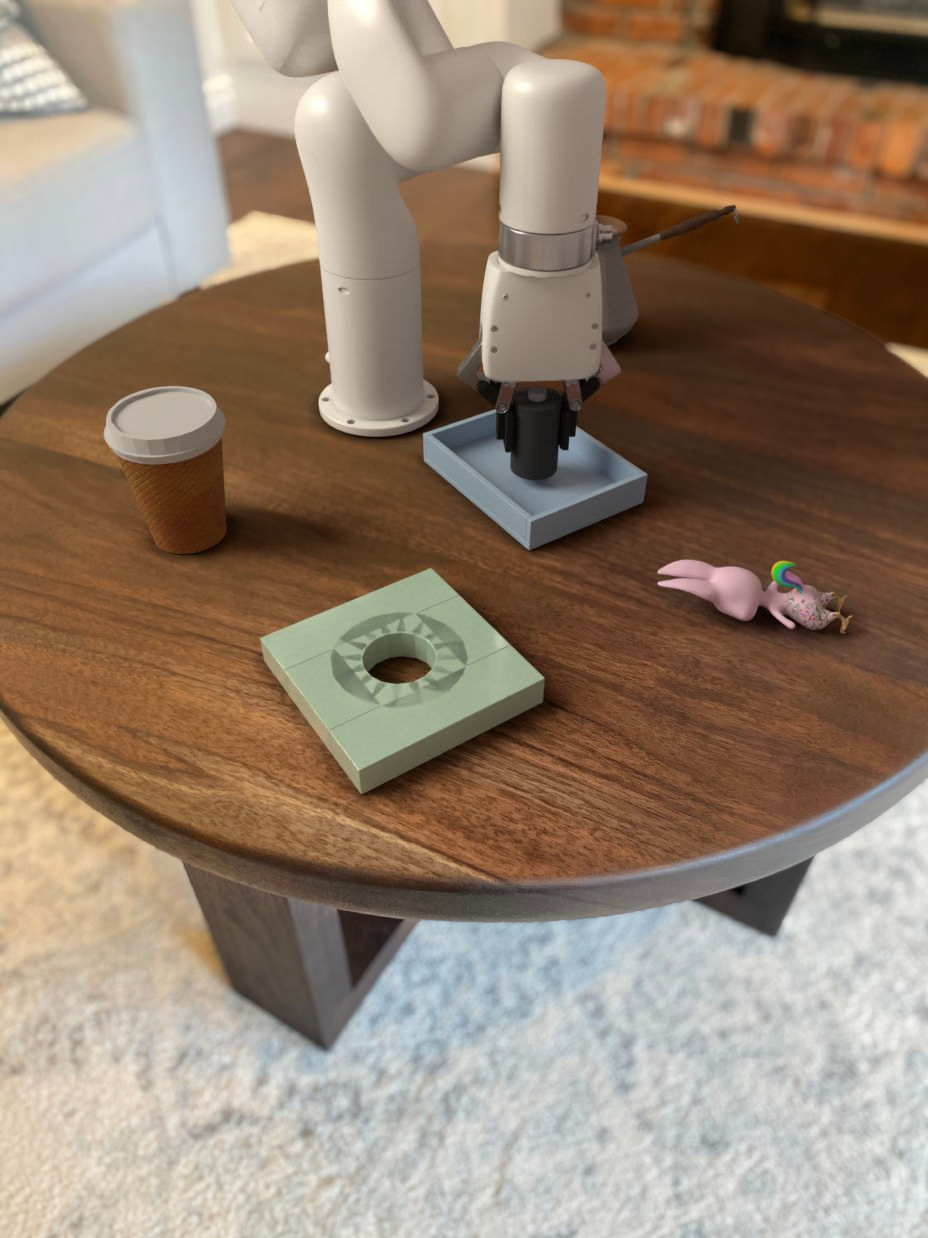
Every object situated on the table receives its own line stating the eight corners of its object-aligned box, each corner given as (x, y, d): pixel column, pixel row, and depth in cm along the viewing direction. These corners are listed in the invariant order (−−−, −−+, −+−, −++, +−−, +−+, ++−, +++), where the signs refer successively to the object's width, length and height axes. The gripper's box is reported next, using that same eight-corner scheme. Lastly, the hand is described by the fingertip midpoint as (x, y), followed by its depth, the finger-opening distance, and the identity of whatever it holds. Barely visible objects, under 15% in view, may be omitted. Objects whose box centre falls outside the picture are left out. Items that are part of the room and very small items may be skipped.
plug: (500, 464, 88) (502, 386, 83) (538, 450, 90) (542, 373, 85) (528, 485, 86) (532, 406, 80) (566, 471, 88) (573, 392, 82)
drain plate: (264, 661, 71) (259, 637, 69) (431, 591, 77) (431, 567, 76) (361, 795, 62) (358, 770, 60) (543, 702, 68) (545, 678, 66)
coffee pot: (543, 355, 109) (552, 222, 99) (536, 313, 117) (544, 187, 107) (726, 355, 109) (754, 223, 99) (706, 313, 118) (730, 187, 108)
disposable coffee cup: (191, 580, 78) (161, 455, 70) (111, 542, 82) (73, 420, 74) (267, 523, 84) (247, 402, 76) (189, 490, 88) (162, 372, 80)
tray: (423, 461, 92) (422, 433, 90) (531, 423, 97) (533, 396, 95) (529, 550, 81) (530, 521, 79) (643, 502, 87) (648, 474, 85)
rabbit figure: (827, 609, 78) (651, 569, 78) (860, 554, 74) (674, 511, 74) (838, 661, 73) (651, 619, 73) (874, 605, 69) (675, 560, 69)
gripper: (641, 223, 78) (617, 420, 90) (437, 228, 77) (441, 426, 89) (661, 256, 72) (633, 462, 84) (441, 263, 71) (445, 469, 83)
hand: (534, 441), depth 86 cm, fingers closed on plug, 4 cm apart
